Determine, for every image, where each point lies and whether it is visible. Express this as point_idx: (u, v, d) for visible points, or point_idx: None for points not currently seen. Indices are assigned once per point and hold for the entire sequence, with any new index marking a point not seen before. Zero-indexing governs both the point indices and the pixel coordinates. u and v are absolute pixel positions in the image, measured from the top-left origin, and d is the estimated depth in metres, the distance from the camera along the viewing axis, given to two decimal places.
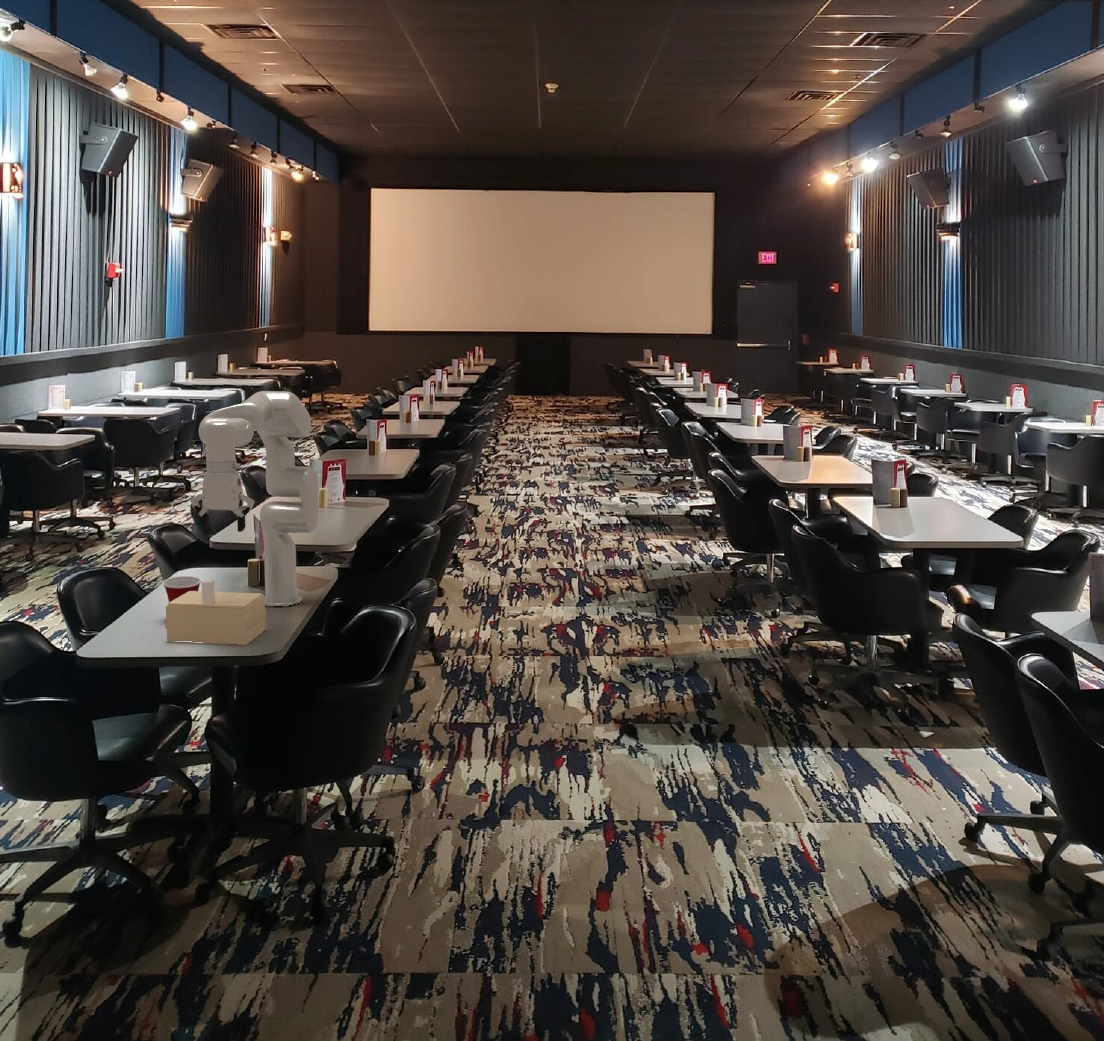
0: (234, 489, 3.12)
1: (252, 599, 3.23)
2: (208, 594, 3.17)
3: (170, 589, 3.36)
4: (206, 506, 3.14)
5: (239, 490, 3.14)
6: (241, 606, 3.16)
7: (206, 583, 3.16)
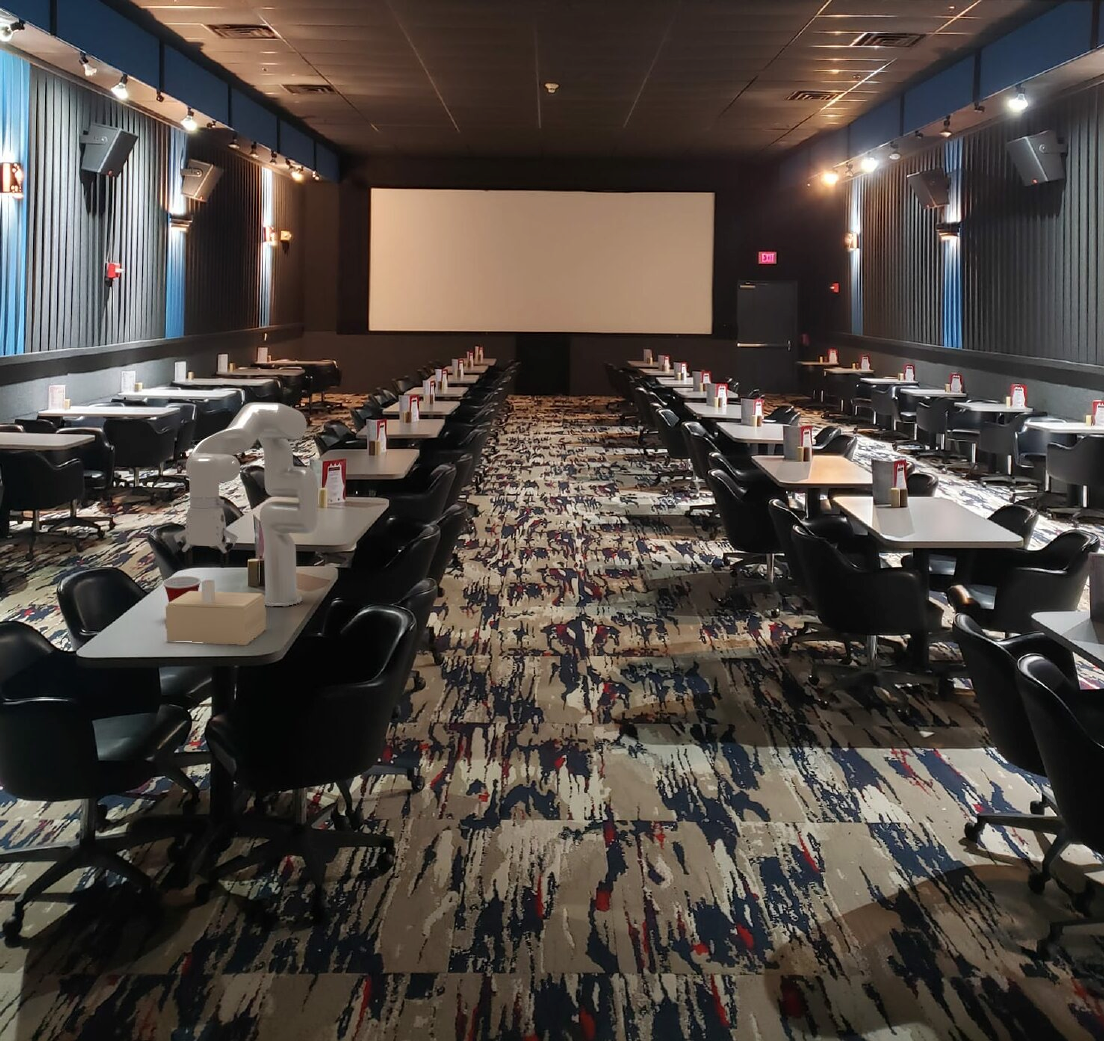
0: (217, 525, 3.12)
1: (252, 599, 3.23)
2: (208, 594, 3.17)
3: (170, 589, 3.36)
4: (189, 542, 3.14)
5: (222, 526, 3.14)
6: (241, 606, 3.16)
7: (206, 583, 3.16)
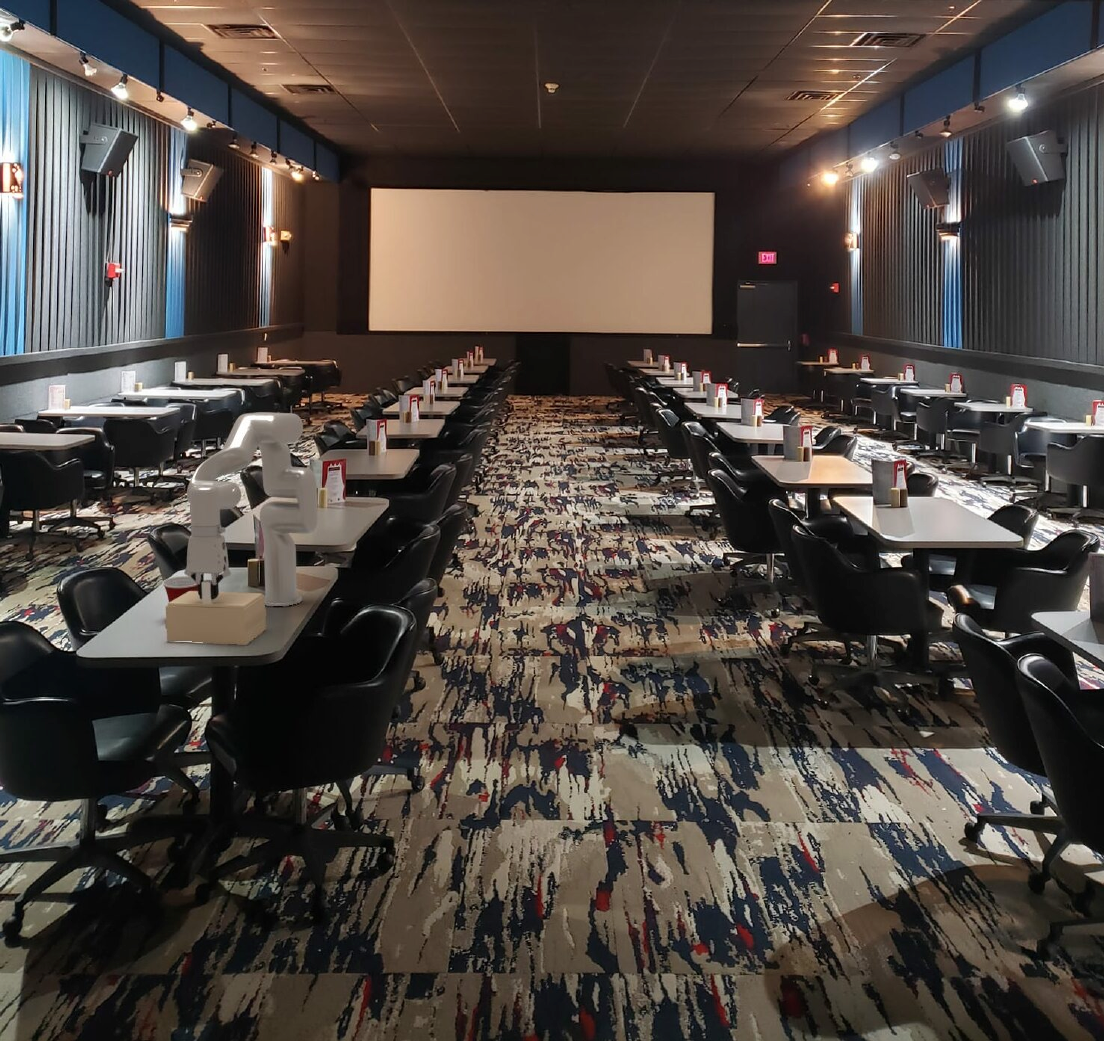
0: (219, 553, 3.14)
1: (252, 599, 3.23)
2: (208, 594, 3.17)
3: (170, 589, 3.36)
4: (191, 570, 3.15)
5: (224, 554, 3.15)
6: (241, 606, 3.16)
7: (206, 583, 3.16)
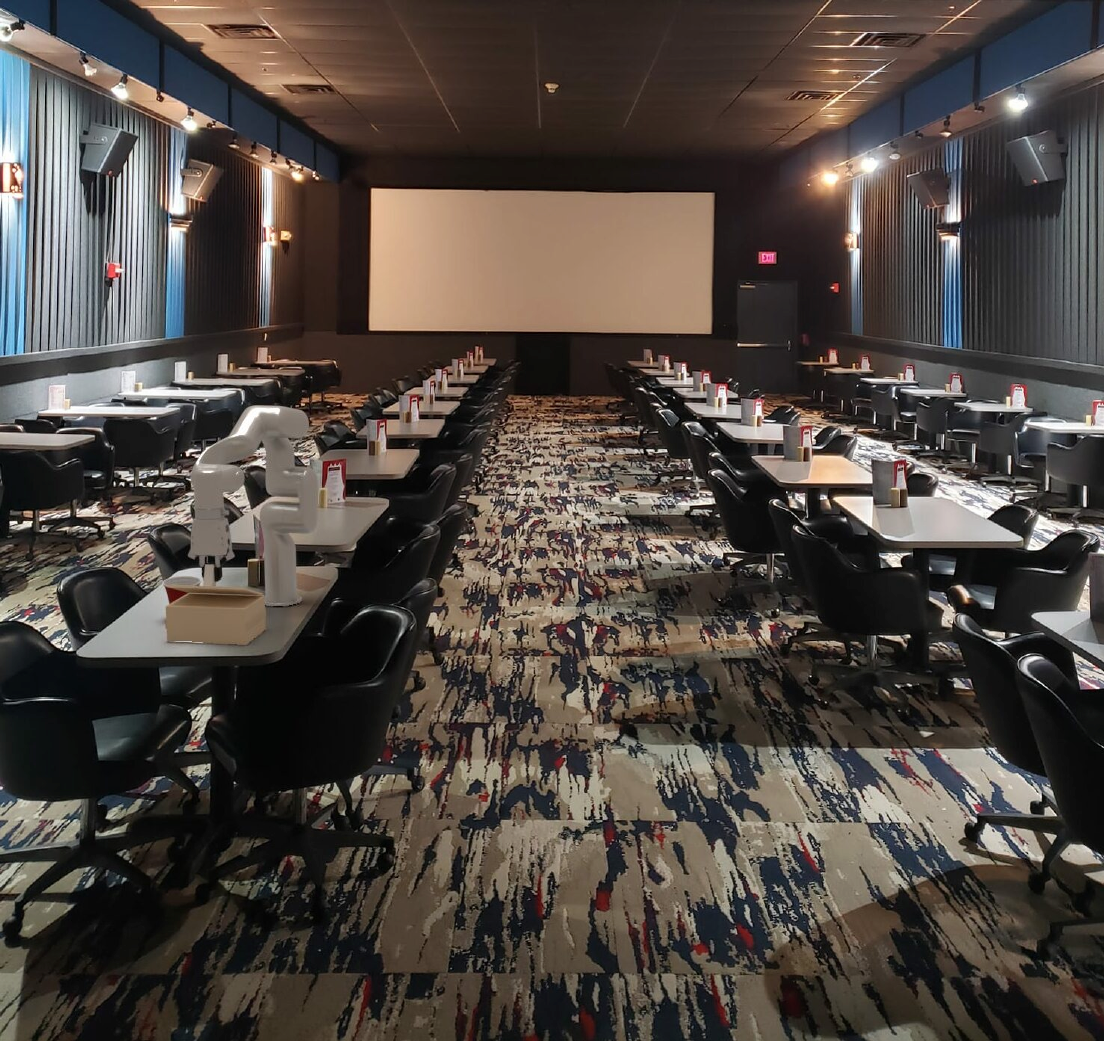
0: (222, 536, 3.16)
1: (252, 590, 3.23)
2: (210, 576, 3.18)
3: (170, 589, 3.36)
4: (195, 552, 3.17)
5: (227, 536, 3.18)
6: (242, 588, 3.16)
7: (209, 565, 3.18)
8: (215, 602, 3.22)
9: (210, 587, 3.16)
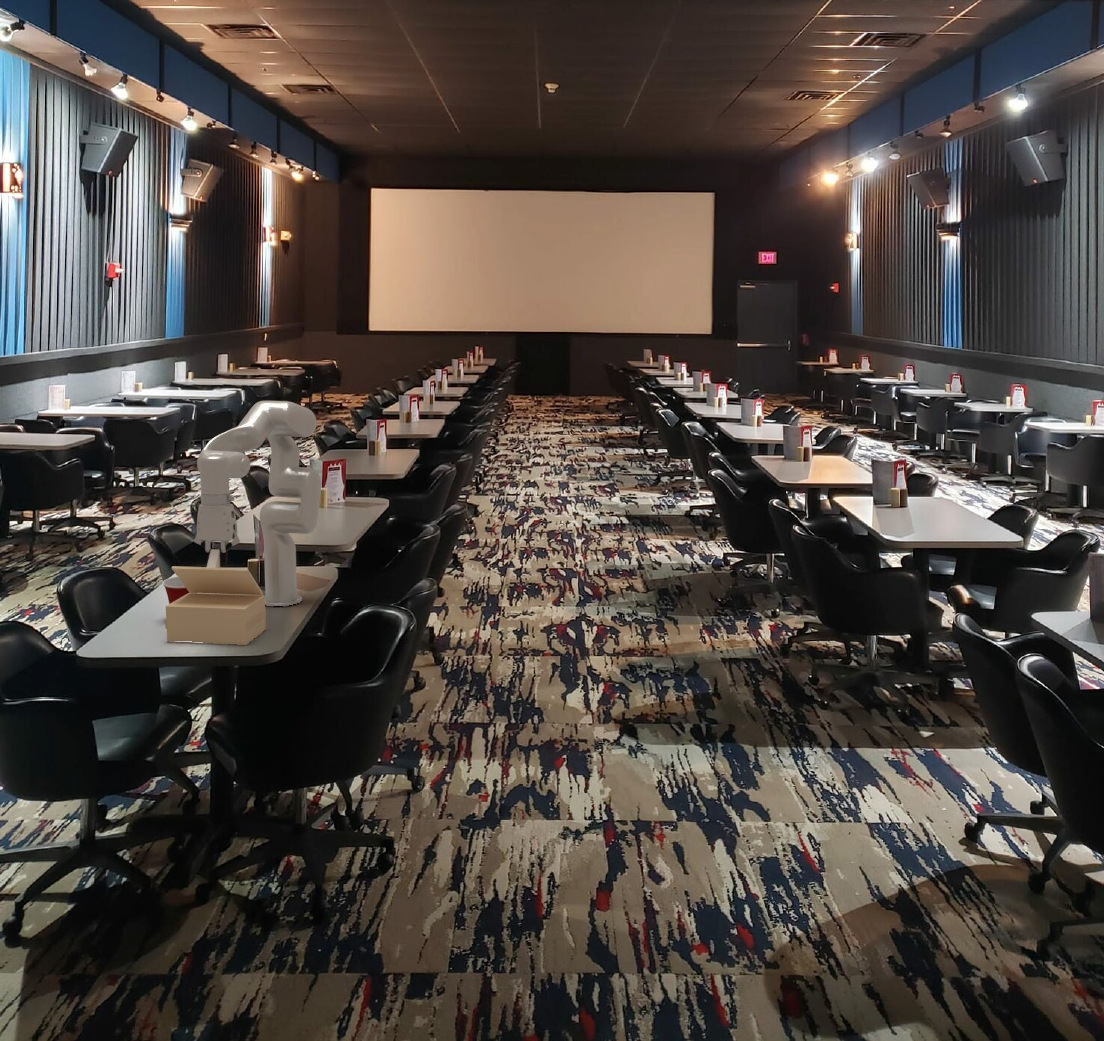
0: (228, 521, 3.20)
1: (254, 581, 3.24)
2: (214, 560, 3.20)
3: (170, 589, 3.36)
4: (201, 537, 3.21)
5: (233, 522, 3.21)
6: (245, 569, 3.18)
7: (215, 550, 3.22)
8: (215, 602, 3.22)
9: (213, 568, 3.18)
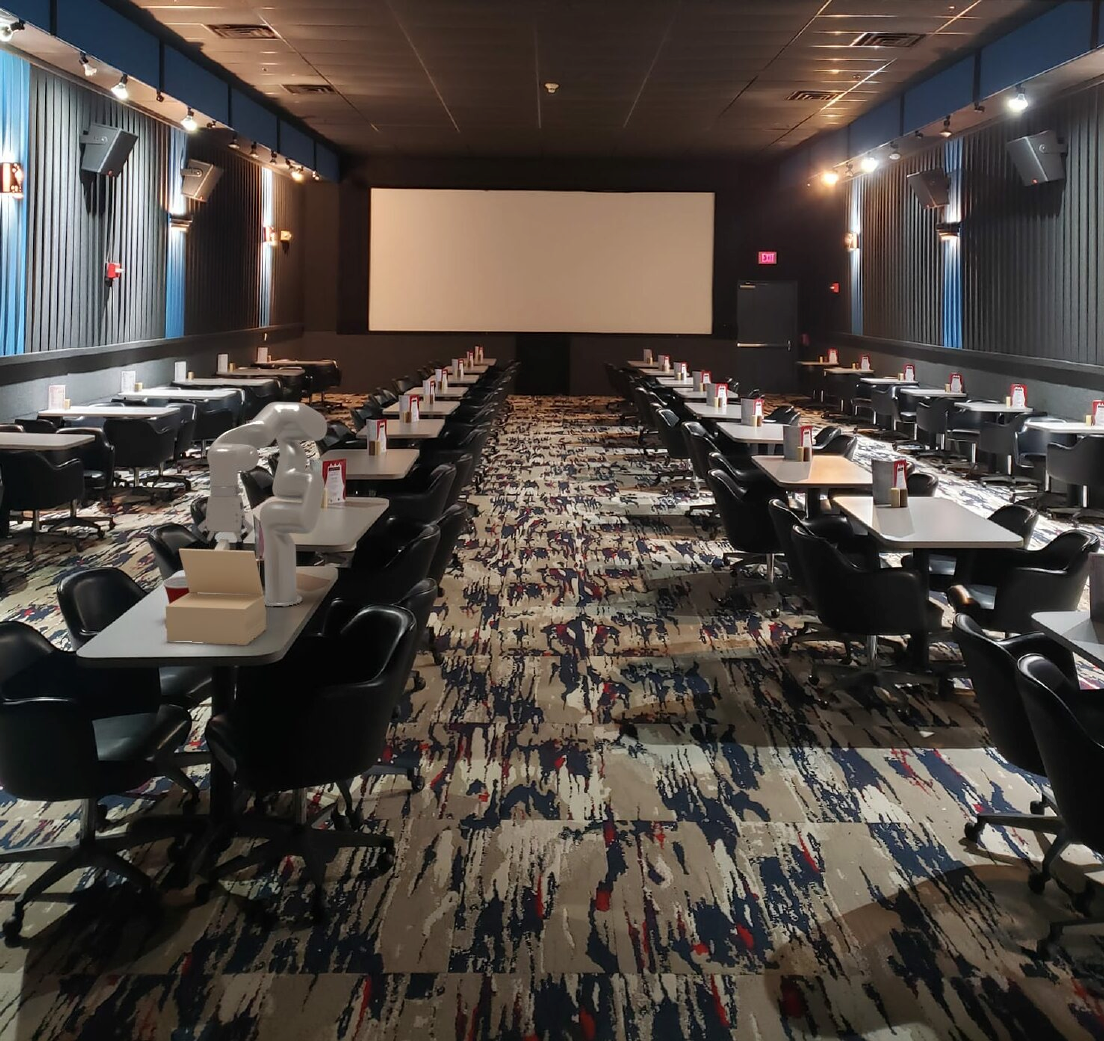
0: (236, 512, 3.26)
1: None
2: (222, 546, 3.26)
3: (170, 589, 3.36)
4: (210, 529, 3.28)
5: (241, 513, 3.28)
6: (251, 551, 3.22)
7: (224, 539, 3.28)
8: (215, 602, 3.22)
9: (220, 550, 3.23)
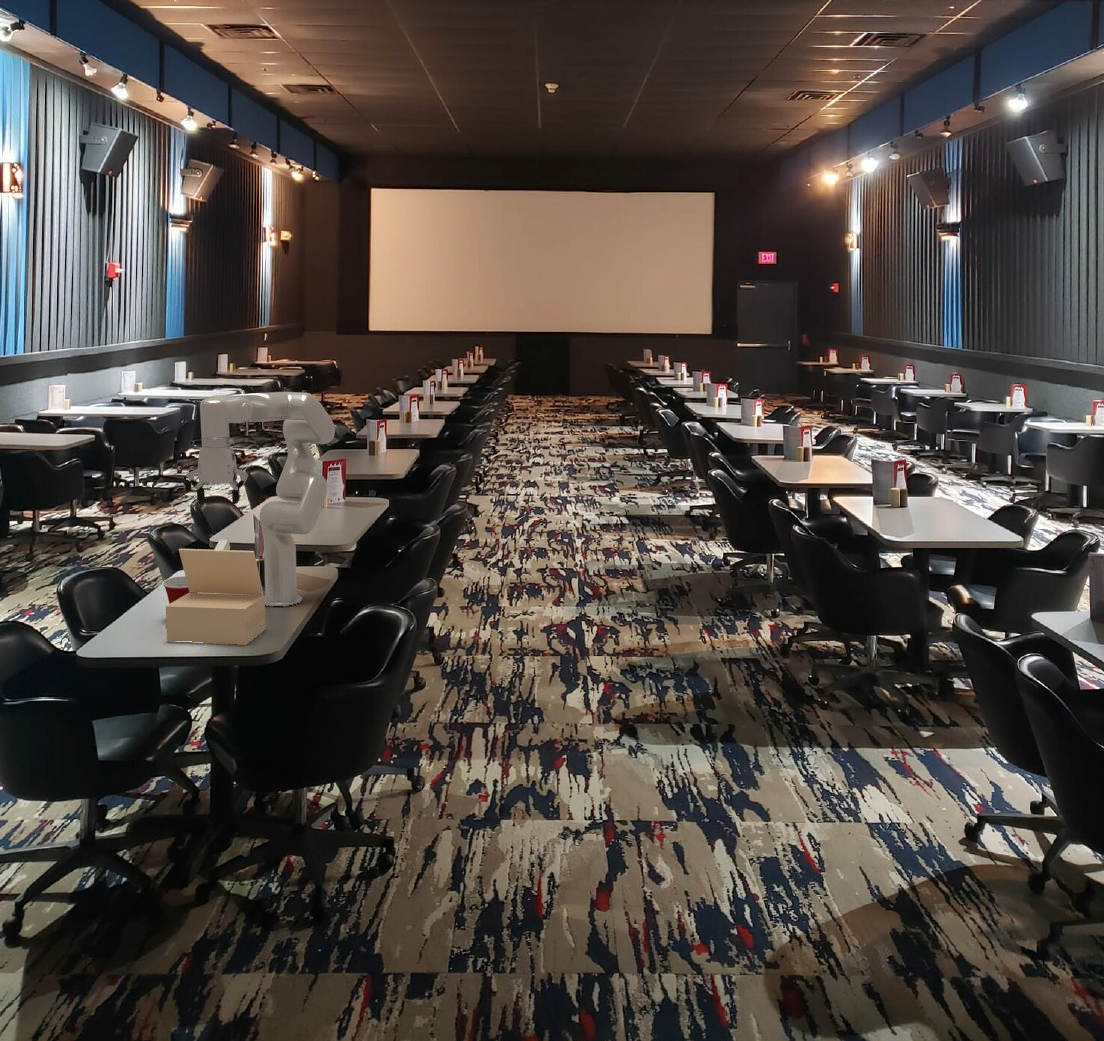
0: (229, 463, 3.29)
1: None
2: (222, 546, 3.26)
3: (170, 589, 3.36)
4: (202, 480, 3.30)
5: (233, 464, 3.30)
6: (251, 551, 3.22)
7: (224, 539, 3.28)
8: (215, 602, 3.22)
9: (220, 550, 3.23)
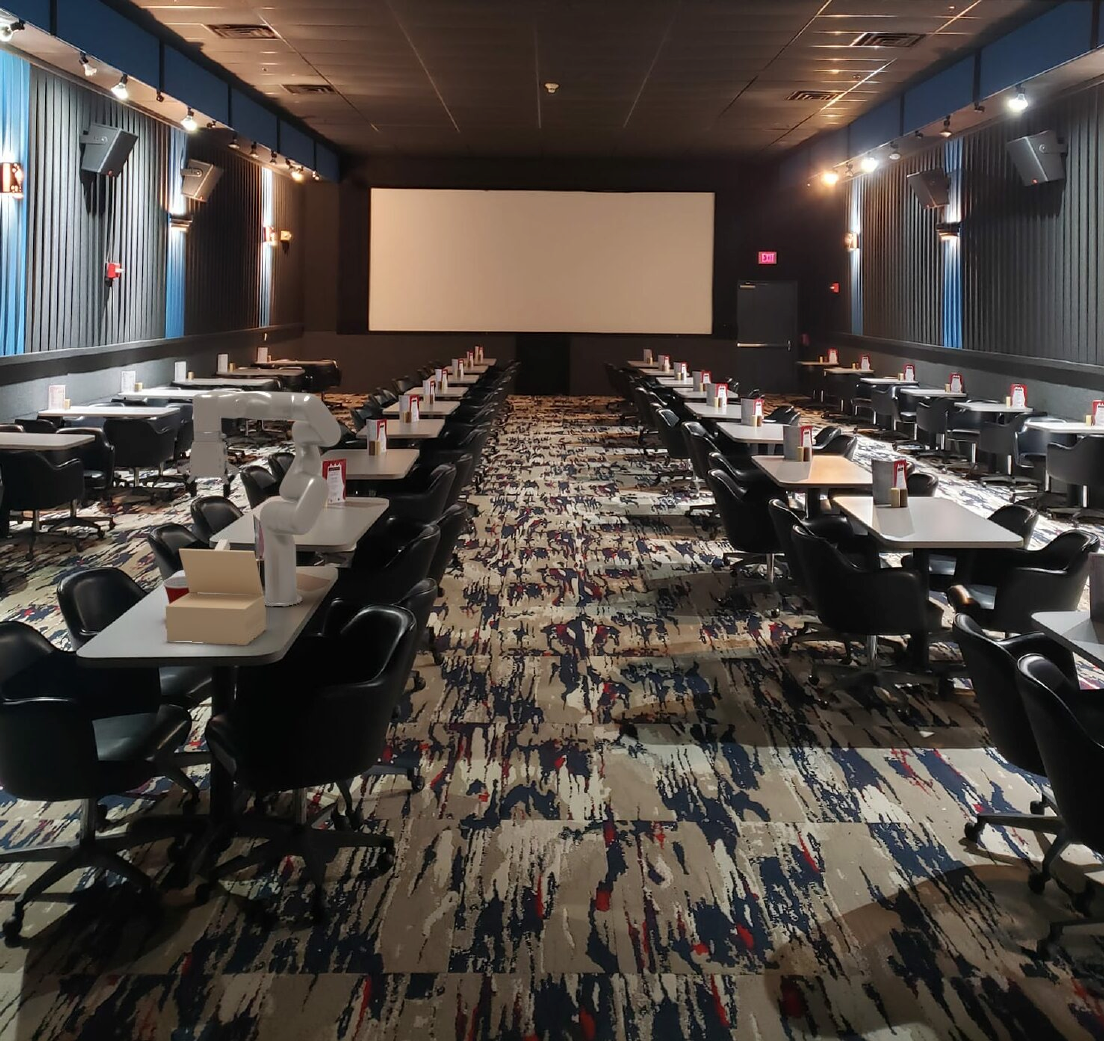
0: (220, 458, 3.31)
1: None
2: (222, 546, 3.26)
3: (170, 589, 3.36)
4: (194, 474, 3.33)
5: (225, 459, 3.33)
6: (251, 551, 3.22)
7: (224, 539, 3.28)
8: (215, 602, 3.22)
9: (220, 550, 3.23)
